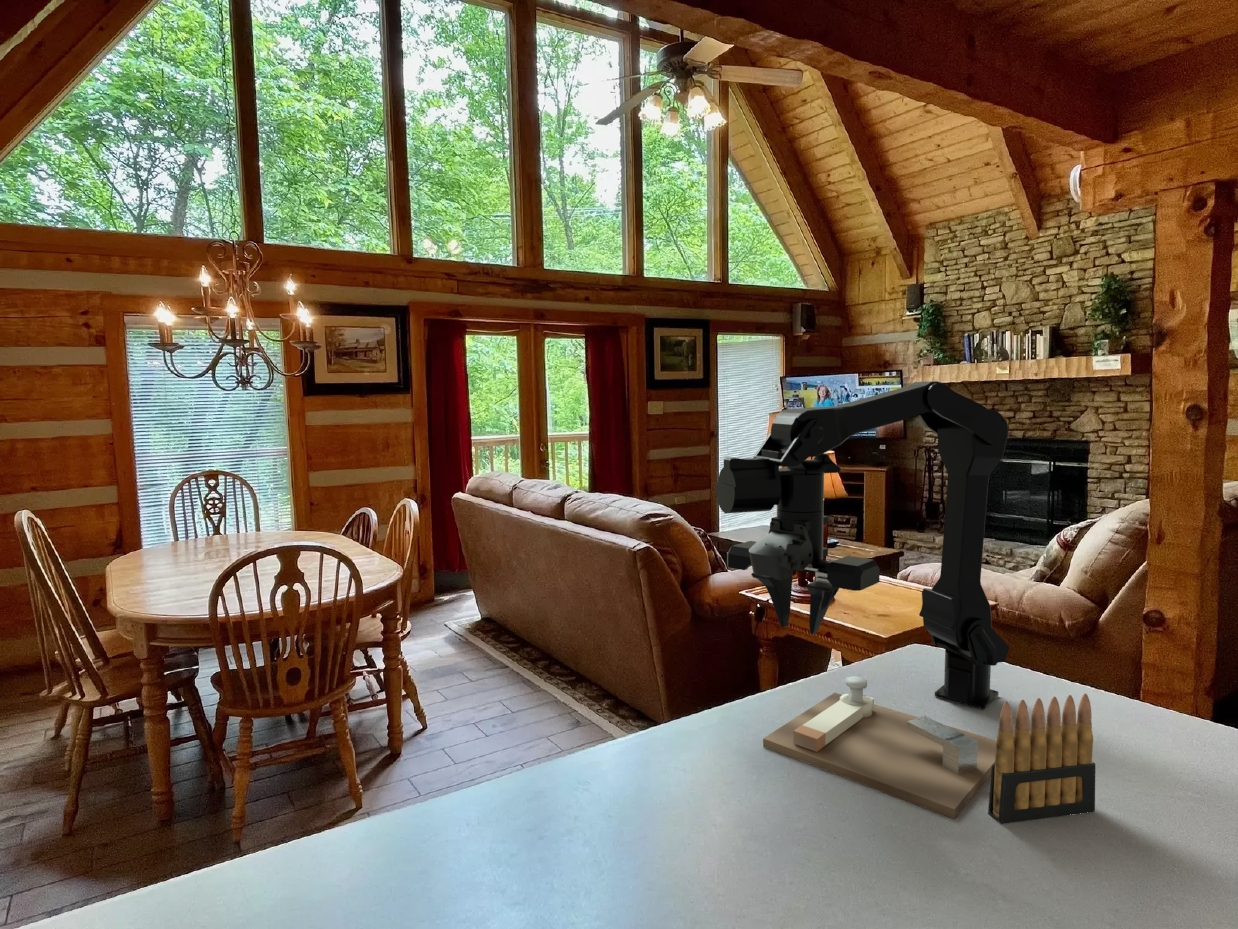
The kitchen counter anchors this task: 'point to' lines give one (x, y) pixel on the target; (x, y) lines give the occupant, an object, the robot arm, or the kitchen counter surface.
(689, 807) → the kitchen counter surface
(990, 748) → the base plate
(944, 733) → the block
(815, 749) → the bar
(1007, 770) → the ammunition clip
